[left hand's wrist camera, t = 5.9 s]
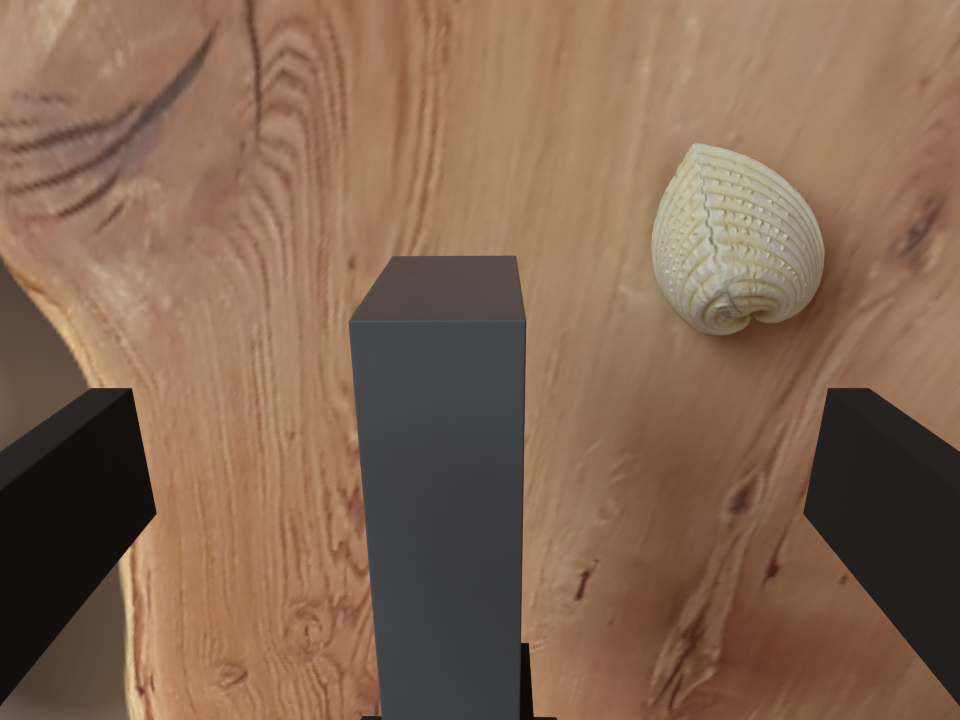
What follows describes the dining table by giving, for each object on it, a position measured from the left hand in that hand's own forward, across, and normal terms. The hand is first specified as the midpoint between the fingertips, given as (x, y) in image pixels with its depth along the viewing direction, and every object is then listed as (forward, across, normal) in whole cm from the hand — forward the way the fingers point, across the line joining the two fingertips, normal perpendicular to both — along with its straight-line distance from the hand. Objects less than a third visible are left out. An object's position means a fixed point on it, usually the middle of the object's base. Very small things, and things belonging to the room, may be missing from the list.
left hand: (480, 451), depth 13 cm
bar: (+13, -1, -10) cm, 16 cm away
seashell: (+24, +13, 0) cm, 27 cm away
